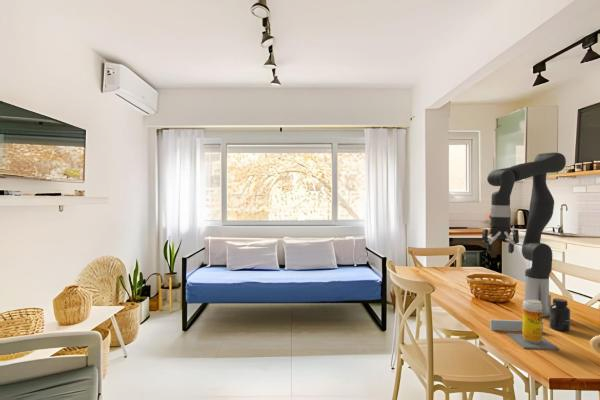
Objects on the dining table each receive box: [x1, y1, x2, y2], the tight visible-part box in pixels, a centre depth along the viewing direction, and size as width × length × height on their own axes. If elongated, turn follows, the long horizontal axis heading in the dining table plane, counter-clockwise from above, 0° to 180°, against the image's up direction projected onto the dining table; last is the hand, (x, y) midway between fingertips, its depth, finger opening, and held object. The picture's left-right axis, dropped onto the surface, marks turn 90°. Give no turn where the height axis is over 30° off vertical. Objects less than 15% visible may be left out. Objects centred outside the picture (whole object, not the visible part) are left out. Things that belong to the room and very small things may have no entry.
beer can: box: [521, 298, 543, 343], centre depth 129 cm, size 6×6×15 cm
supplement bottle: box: [549, 298, 571, 332], centre depth 142 cm, size 7×7×12 cm
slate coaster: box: [506, 332, 560, 351], centre depth 129 cm, size 12×12×1 cm
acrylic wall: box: [489, 318, 544, 333], centre depth 139 cm, size 20×1×4 cm, turn 84°
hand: (500, 252), depth 149 cm, fingers open, 8 cm apart
